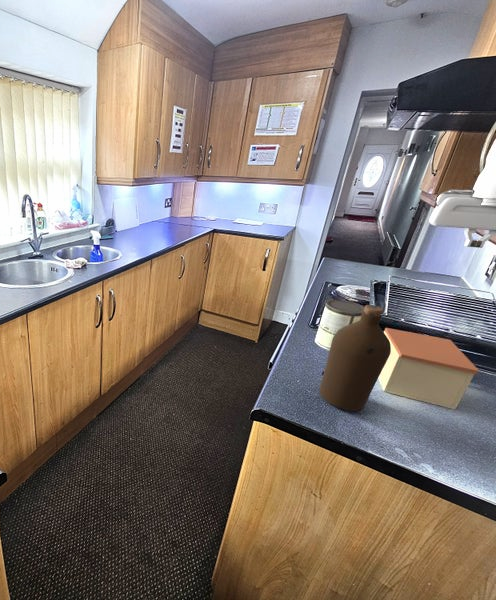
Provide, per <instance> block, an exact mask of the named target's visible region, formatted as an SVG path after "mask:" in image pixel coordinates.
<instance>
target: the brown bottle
mask: <svg viewBox="0 0 496 600" xmlns="http://www.w3.org/2000/svg"><path fill="white" fill-rule="evenodd" d="M364 307H365V308H364V309H365V310H364V311H363V312H362V315H361V318H360V320H359V321H357V322H355V323H352V324H349V325H347V326H344V327H342V328H341V329H339V330H338V331H337V333H336V334H335V335H334V337H333V339H332V343H331V347H330V350H328V356H327V359H326V363H325V367H324V370H323V371H321V376H322V378H321V382H320V385H319V388H318V394H319V395H320V397H321V398H322V399H323V400H324V401H325V402H326V403H328V404H330V405H331V406H333V407H336V408H337V409H340V410H344V411H349V412H359V411H361V410H363V409H364V408H365V406H366V405H367V402H368V400H369V398H370V396H371V393H372V391H373V389H374V387H375V385H376V383H377V381H378V380H379V379H378V377H379V375H380V373H381V371H382V369H383V368H384V366H385V364H386V362H387V360H388V358H389V356H390V352H391V345H390V341H389V339H388V338H387V336H386V335H385V334H384V331H383V329H382V328H381V326H380V325H379V324H380V322H381V320H382V317H383V313H384V309H383V307H381V306H378V305H373V304H366V305H365V306H364Z"/></svg>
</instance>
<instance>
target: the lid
mask: <svg viewBox="0 0 496 600" xmlns="http://www.w3.org/2000/svg"><path fill="white" fill-rule="evenodd" d="M384 331H385V332H386V333H387V335H388V337H389V339H390V340H391V342H392V344H393V345H394V347H395V349H396V351H397V352H398V354H399V356H400V357H401V358H406V359H411V360H415V361H420V362H424V363H429V364H434V365H438V366H443V367H448V368H452V369H457V370H461V371H466V372H471V373H475V374H474V375H478V374H479V372H480V370H479V369H478V368H477V366H476V365H475V364H473V362H472V361H471V360H470V359H469V358H468V357H467V356H466V355H465V354H464V353H463V352H462V351H461V349H460V348H459V347H458V346H457V345H456V344H455V343H454V342H453V340H452V339H448V338H442V337H438V336H432V335H427V334H422V333H415V332H412V331H406V330H400V329H395V328H389V327H385V328H384Z"/></svg>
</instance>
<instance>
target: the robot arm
mask: <svg viewBox="0 0 496 600" xmlns="http://www.w3.org/2000/svg"><path fill="white" fill-rule="evenodd" d="M435 202H436V203H435V205H436V206H435V207H434V209H433V211H432V213H431V214H430V216H429V218H428V223H429V224H430V225H431V226H433V227H442V228H456V229H464V230H463V234H464V236H465V242H464V247H467V248H479V249H483V248H484V246H485V243H486V242H487V241H489V240H490V239H492V238H493V237H496V138H495V139H494V141H493V142H492V145H491V147H490V149H489V150H488V153H487V155H486V158H485V166H484V168H483V170H482V171H481V172H480V173H479V175H478V177H477V178H476V180H475V183H474V186H473V188H472V189H448V190H445V191H443V192H441V193H440V194H439V195H438V197H437V200H436V201H435ZM477 230H483V234H484V235H483V236H481V237H480V238H479V239H474V237H473V234H475V233H476V231H477Z"/></svg>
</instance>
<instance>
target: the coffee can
mask: <svg viewBox="0 0 496 600" xmlns="http://www.w3.org/2000/svg"><path fill="white" fill-rule="evenodd" d="M324 304H325V305H324V309H323V312H322V315H321V319H320V323H319V325H318V329H317V332H316V336H315V339H314V342H315V344H317V346H319V347H321V348H322V349H324V350H327V351H330V347H331V343H332V339H333V337H334V335H335V334H336V333H337V331H338V330H339V329H341V328H342V327H344V326H347V325H349V324H352V323H355V322H357V321H359V320H360V318H361V315H362V312H363V311H364V310H365V309H364V308H365V306H363V305H362V304H360V303H357V302H353V301H350V300H345V299H335V298H334V299H328V300H326V301H325V302H324Z"/></svg>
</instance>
